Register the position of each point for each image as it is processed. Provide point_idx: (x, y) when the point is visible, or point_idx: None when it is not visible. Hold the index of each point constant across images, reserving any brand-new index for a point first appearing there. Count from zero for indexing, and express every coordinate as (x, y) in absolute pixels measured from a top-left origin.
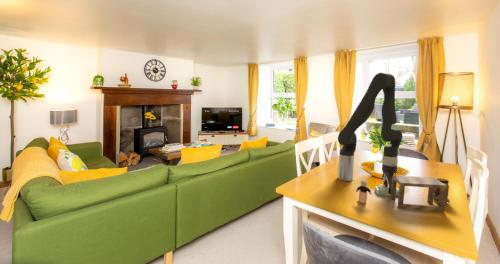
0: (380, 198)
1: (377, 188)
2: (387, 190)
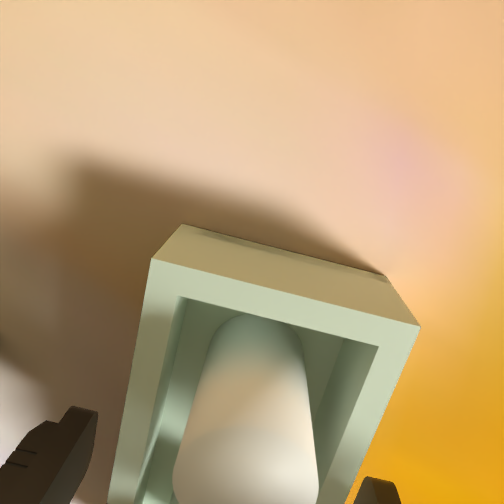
0: (10, 179)
1: (255, 302)
2: (122, 441)
